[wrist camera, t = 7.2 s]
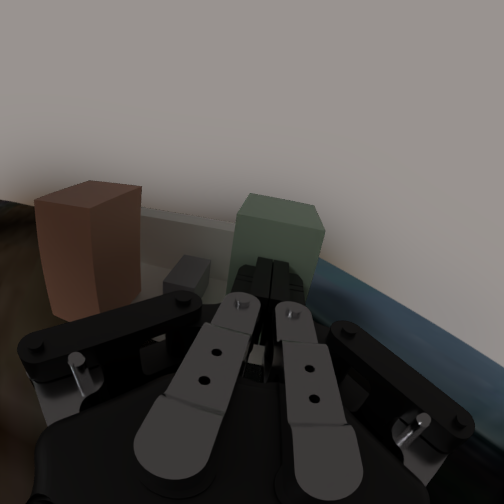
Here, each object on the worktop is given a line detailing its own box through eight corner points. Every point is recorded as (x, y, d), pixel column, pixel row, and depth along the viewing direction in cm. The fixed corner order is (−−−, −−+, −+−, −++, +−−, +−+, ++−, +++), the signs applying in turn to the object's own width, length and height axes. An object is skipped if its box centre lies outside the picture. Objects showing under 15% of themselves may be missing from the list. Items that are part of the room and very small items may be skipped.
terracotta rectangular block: (53, 314, 13) (34, 199, 10) (94, 277, 18) (89, 180, 15) (104, 335, 13) (89, 208, 10) (141, 290, 18) (141, 186, 15)
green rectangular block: (220, 335, 15) (237, 213, 12) (234, 290, 20) (250, 193, 17) (290, 348, 15) (325, 230, 12) (290, 301, 20) (314, 205, 17)
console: (79, 314, 17) (66, 236, 14) (127, 267, 24) (127, 204, 22) (289, 369, 16) (317, 289, 14) (289, 301, 24) (306, 236, 21)
